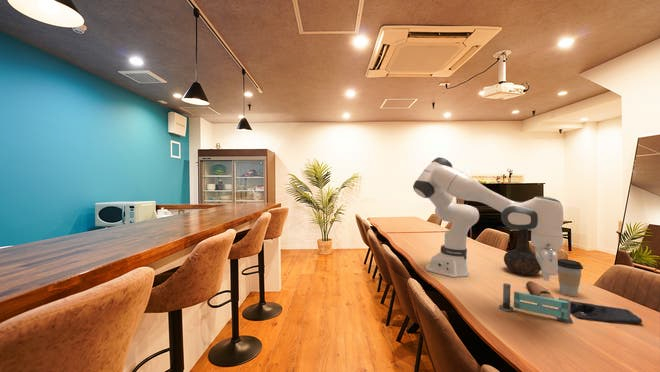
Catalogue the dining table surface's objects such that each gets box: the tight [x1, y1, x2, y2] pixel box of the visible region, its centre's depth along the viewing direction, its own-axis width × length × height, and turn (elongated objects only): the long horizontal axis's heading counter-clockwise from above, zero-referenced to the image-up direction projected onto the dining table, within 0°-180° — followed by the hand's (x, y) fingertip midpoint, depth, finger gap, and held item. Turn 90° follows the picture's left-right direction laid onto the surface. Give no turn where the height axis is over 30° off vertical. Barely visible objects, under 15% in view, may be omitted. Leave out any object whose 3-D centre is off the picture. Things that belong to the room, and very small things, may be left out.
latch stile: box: [555, 297, 574, 324], centre depth 98 cm, size 4×4×8 cm
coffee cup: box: [557, 258, 584, 297], centre depth 120 cm, size 9×9×15 cm
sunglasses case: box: [525, 280, 555, 299], centre depth 118 cm, size 18×7×7 cm, turn 154°
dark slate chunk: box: [570, 300, 643, 324], centre depth 102 cm, size 15×22×5 cm
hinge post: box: [498, 282, 515, 313], centre depth 105 cm, size 5×5×10 cm
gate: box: [513, 291, 568, 319], centre depth 100 cm, size 16×2×6 cm, turn 58°
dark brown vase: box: [503, 229, 542, 276], centre depth 147 cm, size 18×18×28 cm
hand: (545, 279), depth 95 cm, fingers closed
